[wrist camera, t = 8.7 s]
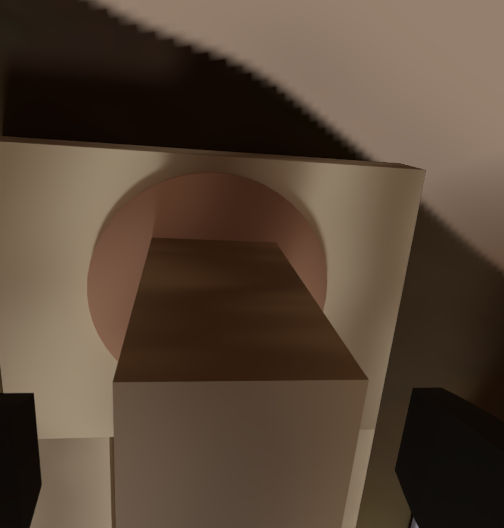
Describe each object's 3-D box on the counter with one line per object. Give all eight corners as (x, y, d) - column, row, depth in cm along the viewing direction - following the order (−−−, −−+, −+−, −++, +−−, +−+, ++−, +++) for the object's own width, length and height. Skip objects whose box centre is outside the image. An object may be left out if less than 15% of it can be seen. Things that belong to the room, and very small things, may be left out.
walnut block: (276, 242, 15) (369, 379, 7) (265, 350, 16) (334, 561, 8) (151, 237, 14) (112, 382, 7) (150, 349, 15) (116, 578, 8)
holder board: (399, 163, 17) (432, 171, 15) (332, 541, 23) (348, 588, 21) (1, 135, 15) (-32, 140, 13) (41, 561, 21) (24, 615, 18)
